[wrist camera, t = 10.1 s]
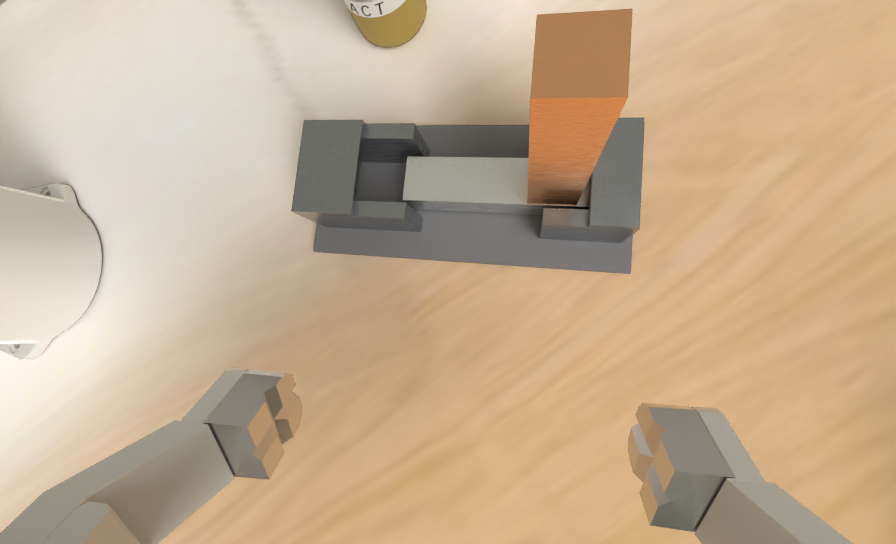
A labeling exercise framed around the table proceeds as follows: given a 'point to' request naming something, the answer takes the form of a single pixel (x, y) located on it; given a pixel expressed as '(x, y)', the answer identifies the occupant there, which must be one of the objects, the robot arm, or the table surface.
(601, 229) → the socket
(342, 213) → the grey u-shaped block
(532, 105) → the brown piece
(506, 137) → the grey rectangular plate
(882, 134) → the table surface
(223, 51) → the table surface
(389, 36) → the paper tube
